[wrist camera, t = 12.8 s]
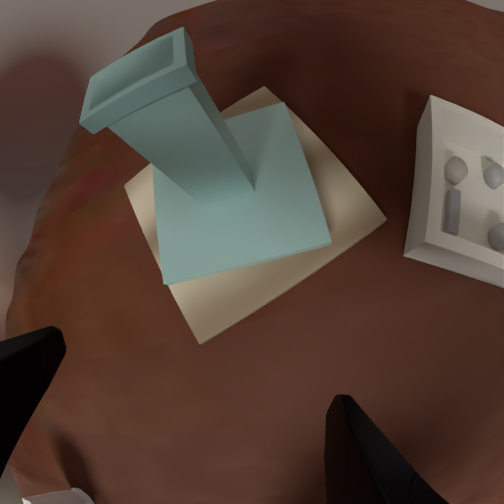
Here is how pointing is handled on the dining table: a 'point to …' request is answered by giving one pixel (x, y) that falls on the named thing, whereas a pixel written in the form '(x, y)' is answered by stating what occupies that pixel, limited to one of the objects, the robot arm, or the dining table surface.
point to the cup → (60, 498)
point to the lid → (208, 164)
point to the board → (275, 271)
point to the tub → (458, 193)
